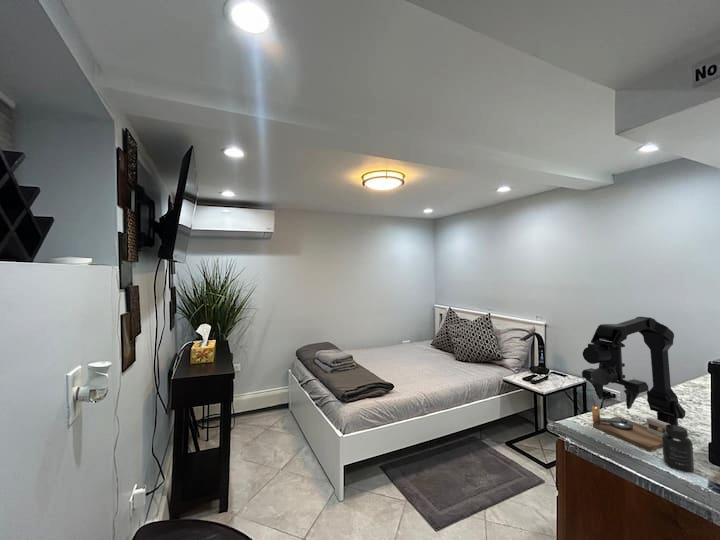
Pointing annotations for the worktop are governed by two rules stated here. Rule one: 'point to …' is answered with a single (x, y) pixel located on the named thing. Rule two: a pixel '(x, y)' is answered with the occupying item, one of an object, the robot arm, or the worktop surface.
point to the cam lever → (613, 421)
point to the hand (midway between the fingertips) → (614, 403)
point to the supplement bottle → (677, 448)
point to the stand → (638, 433)
